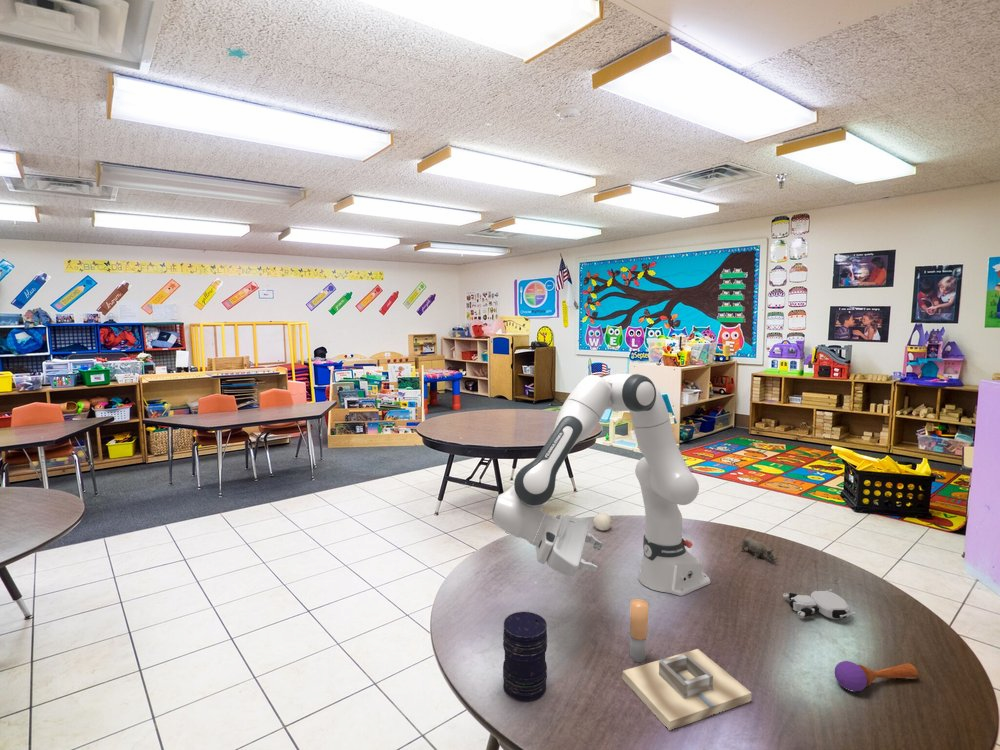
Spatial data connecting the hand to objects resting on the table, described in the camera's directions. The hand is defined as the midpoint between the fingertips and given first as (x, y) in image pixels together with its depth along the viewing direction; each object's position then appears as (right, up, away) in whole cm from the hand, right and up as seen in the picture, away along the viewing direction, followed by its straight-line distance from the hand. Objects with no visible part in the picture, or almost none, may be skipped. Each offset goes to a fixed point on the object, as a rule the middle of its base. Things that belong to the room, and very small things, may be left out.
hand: (599, 557), depth 129 cm
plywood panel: (+16, -24, -16) cm, 33 cm away
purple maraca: (+60, -24, -14) cm, 67 cm away
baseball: (+15, -15, +73) cm, 76 cm away
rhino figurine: (+66, -18, +48) cm, 84 cm away
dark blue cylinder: (-20, -24, -15) cm, 35 cm away
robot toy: (+65, -21, +15) cm, 70 cm away
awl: (+8, -23, -5) cm, 25 cm away
